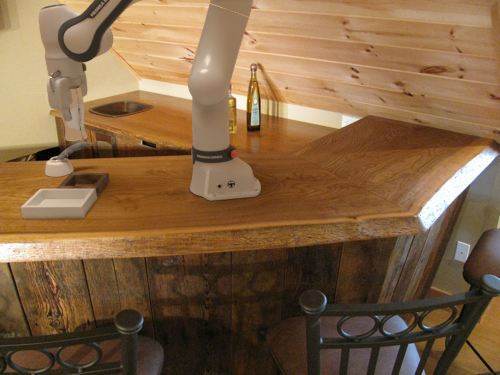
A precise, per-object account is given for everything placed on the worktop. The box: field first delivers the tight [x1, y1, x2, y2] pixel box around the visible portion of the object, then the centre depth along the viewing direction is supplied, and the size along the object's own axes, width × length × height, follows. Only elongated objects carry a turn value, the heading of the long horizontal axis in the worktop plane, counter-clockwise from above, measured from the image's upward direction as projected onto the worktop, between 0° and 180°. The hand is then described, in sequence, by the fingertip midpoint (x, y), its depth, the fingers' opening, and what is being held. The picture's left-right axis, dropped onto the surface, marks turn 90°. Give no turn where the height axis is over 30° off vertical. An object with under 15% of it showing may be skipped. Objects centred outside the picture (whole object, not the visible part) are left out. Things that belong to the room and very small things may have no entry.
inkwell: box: [44, 141, 97, 178], centre depth 139 cm, size 9×18×10 cm, turn 114°
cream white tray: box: [20, 188, 98, 220], centre depth 114 cm, size 16×12×4 cm
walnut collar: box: [55, 172, 110, 198], centre depth 126 cm, size 12×12×3 cm
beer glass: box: [58, 86, 88, 142], centre depth 117 cm, size 7×7×15 cm
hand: (73, 117), depth 118 cm, fingers closed on beer glass, 6 cm apart
